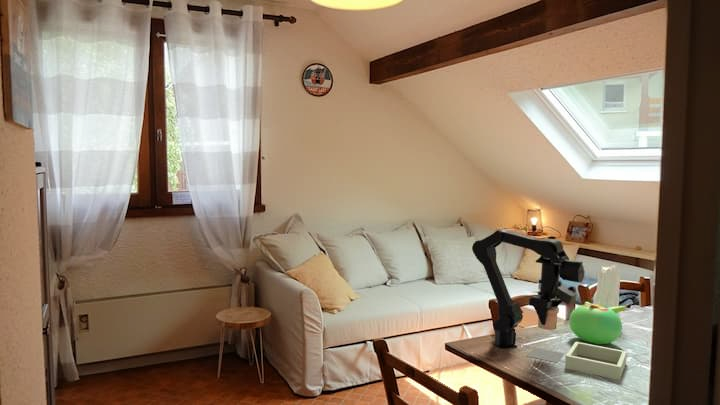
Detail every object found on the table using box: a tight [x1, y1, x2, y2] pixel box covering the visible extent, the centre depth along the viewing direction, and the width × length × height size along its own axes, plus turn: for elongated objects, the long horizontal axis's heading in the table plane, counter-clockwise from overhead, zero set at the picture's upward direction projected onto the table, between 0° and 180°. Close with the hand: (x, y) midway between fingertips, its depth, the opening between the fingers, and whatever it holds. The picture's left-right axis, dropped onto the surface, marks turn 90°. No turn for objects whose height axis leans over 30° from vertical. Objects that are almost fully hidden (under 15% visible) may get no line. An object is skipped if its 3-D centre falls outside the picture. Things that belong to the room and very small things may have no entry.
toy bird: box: [568, 301, 628, 345], centre depth 202 cm, size 18×17×15 cm
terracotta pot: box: [537, 305, 560, 331], centre depth 186 cm, size 7×7×7 cm
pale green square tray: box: [564, 341, 628, 381], centre depth 179 cm, size 16×16×4 cm
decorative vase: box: [592, 264, 621, 319], centre depth 224 cm, size 11×11×25 cm
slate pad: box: [526, 347, 565, 364], centre depth 187 cm, size 10×10×1 cm
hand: (547, 322), depth 186 cm, fingers closed on terracotta pot, 6 cm apart
